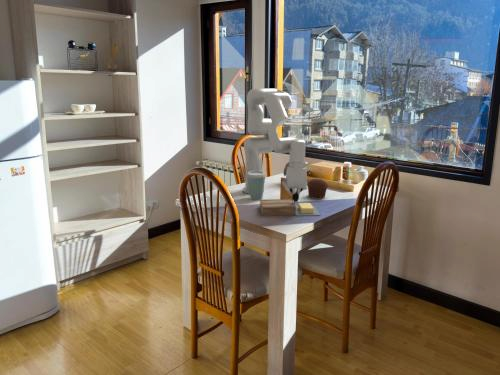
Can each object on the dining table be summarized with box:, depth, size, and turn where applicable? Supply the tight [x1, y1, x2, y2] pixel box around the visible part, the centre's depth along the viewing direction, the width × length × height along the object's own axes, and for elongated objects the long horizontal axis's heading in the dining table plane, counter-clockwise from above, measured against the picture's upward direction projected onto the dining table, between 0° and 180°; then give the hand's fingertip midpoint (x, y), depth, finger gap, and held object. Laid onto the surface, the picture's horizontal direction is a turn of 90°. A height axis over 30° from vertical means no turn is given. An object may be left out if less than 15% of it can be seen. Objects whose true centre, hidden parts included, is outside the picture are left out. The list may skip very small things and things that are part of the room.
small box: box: [279, 175, 297, 203], centre depth 225 cm, size 8×6×13 cm
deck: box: [259, 198, 296, 217], centre depth 207 cm, size 14×16×4 cm
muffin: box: [307, 178, 329, 200], centre depth 233 cm, size 12×11×10 cm
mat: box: [294, 204, 321, 217], centre depth 208 cm, size 16×12×1 cm
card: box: [298, 202, 314, 213], centre depth 207 cm, size 9×6×2 cm, turn 2°
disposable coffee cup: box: [245, 170, 266, 201], centre depth 227 cm, size 11×11×15 cm
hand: (295, 201), depth 207 cm, fingers closed
